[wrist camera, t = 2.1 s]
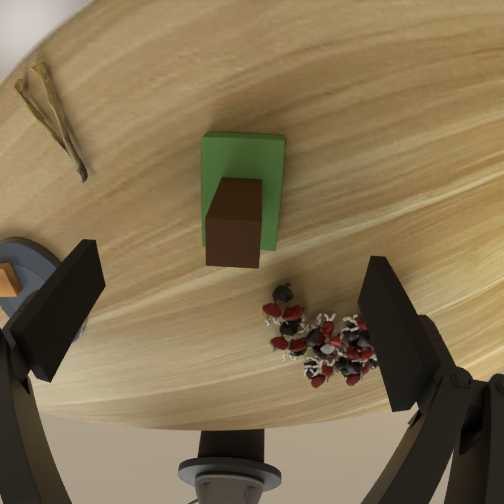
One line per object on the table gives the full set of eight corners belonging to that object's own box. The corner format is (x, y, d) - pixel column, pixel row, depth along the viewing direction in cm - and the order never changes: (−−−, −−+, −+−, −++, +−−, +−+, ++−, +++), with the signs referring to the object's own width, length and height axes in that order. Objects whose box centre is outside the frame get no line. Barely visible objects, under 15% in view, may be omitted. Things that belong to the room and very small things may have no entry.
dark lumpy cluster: (411, 280, 29) (423, 310, 25) (378, 369, 37) (382, 398, 33) (265, 270, 31) (259, 300, 27) (263, 363, 39) (258, 393, 35)
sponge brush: (274, 236, 28) (279, 310, 20) (207, 233, 28) (183, 304, 20) (283, 135, 24) (296, 166, 15) (207, 131, 24) (174, 161, 15)
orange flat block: (23, 289, 31) (17, 296, 30) (5, 290, 31) (-1, 297, 30) (9, 261, 29) (3, 268, 28) (-8, 264, 29) (-14, 270, 28)
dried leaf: (93, 175, 24) (102, 169, 25) (32, 57, 18) (44, 58, 20) (61, 198, 24) (71, 191, 26) (4, 87, 19) (16, 85, 20)
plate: (100, 348, 37) (97, 354, 36) (15, 329, 37) (12, 334, 36) (68, 240, 29) (62, 245, 28) (-21, 235, 29) (-27, 239, 28)
